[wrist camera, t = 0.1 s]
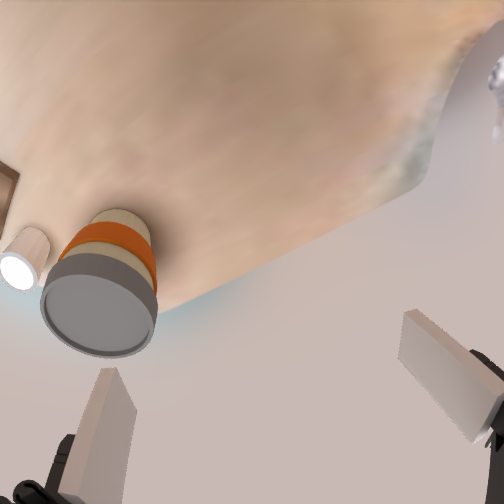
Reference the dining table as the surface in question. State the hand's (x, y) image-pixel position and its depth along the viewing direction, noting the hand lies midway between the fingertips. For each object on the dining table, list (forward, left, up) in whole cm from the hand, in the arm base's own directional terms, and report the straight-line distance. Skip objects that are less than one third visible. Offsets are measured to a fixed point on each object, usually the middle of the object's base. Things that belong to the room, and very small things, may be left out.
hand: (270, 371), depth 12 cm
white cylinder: (+25, -15, -28) cm, 40 cm away
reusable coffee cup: (+16, -4, -28) cm, 33 cm away
